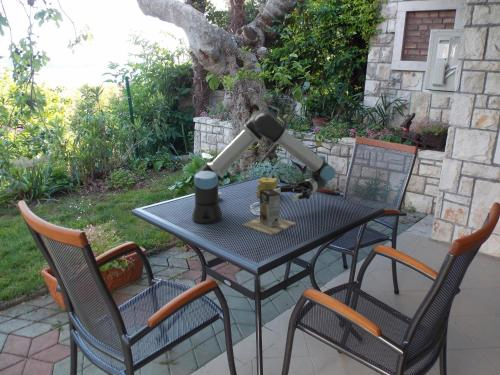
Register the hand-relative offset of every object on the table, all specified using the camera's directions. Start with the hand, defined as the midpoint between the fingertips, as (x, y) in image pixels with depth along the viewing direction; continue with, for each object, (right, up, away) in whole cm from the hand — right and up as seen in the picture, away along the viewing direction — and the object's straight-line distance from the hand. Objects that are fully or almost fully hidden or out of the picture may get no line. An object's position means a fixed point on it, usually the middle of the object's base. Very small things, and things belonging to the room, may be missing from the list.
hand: (282, 195), depth 200 cm
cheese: (-6, -1, +41) cm, 42 cm away
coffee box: (-7, -13, -4) cm, 16 cm away
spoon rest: (-39, -5, +29) cm, 49 cm away
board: (-7, -14, -4) cm, 16 cm away
